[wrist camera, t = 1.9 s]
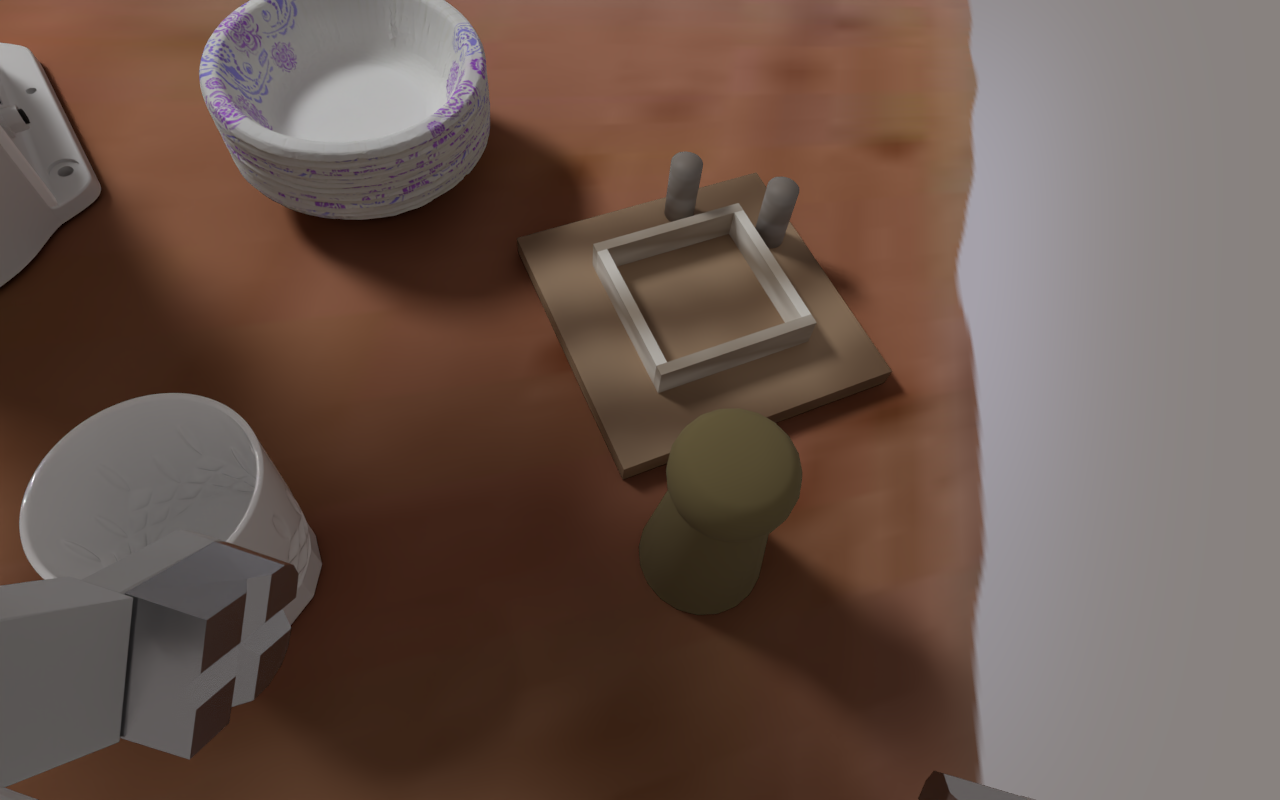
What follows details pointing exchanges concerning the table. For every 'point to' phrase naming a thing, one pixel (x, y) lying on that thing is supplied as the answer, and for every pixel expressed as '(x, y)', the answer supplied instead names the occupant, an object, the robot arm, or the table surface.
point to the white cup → (162, 491)
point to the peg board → (696, 312)
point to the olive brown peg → (719, 510)
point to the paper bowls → (349, 102)
